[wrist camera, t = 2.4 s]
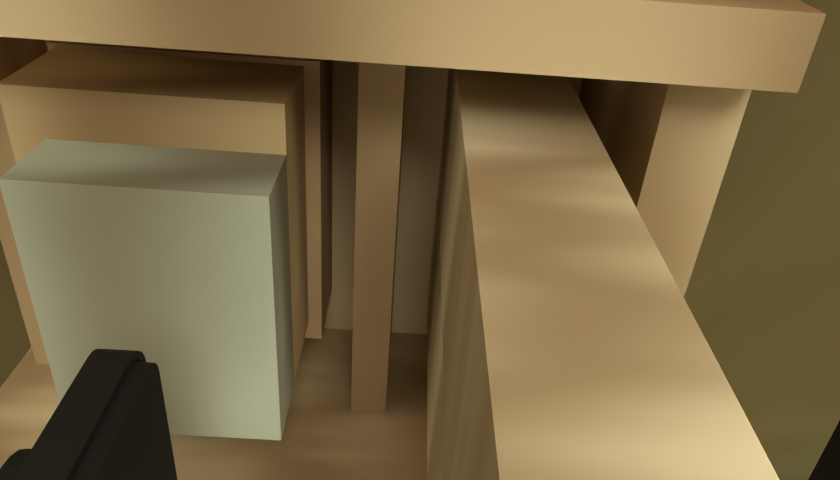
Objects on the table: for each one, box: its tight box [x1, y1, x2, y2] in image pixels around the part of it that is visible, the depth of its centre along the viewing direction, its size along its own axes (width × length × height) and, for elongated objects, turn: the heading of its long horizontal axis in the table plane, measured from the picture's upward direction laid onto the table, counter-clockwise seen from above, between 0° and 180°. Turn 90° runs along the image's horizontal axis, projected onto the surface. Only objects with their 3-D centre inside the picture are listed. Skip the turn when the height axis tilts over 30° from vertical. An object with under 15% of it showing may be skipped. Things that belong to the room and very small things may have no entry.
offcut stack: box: [0, 40, 333, 440], centre depth 14 cm, size 5×7×6 cm
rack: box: [0, 0, 826, 480], centre depth 14 cm, size 14×11×7 cm
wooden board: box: [427, 68, 779, 480], centre depth 11 cm, size 2×7×12 cm, turn 176°
